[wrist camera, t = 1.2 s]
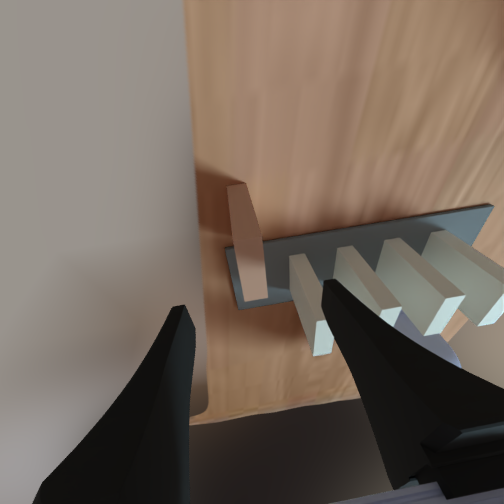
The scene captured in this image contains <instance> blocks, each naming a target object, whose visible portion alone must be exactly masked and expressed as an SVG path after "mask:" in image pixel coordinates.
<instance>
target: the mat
mask: <svg viewBox="0 0 504 504" xmlns="http://www.w3.org/2000/svg"><path fill="white" fill-rule="evenodd" d="M493 208H494V206H493V205H491V204H490V205H484V206H478V207H471V208H465V209H459V210H453V211H447V212H441V213H435V214H429V215H422V216H416V217H410V218H404V219H398V220H392V221H386V222H379V223H373V224H367V225H361V226H355V227H349V228H343V229H336V230H330V231H324V232H318V233H312V234H306V235H300V236H294V237H287V238H281V239H275V240H269V241H263V250H264V261H265V271H266V281H267V291H268V298H264V299H258V300H252V301H247V302H245V301H244V296H243V291H242V286H241V280H240V275H239V270H238V265H237V260H236V254H235V249H234V246H232V247H226V248H225V252H226V256H227V260H228V265H229V269H230V274H231V278H232V283H233V287H234V292H235V296H236V301H237V305H238V310H243V309H248V308H254V307H260V306H266V305H272V304H277V303H283V302H289V301H293V298H292V295H291V292H290V273H289V256H291V255H297V254H303V253H305V255H306V257H307V259H308V261H309V263H310V265H311V267H312V269H313V270H314V272H315V274H316V276H317V278H318V280H319V282H320V284H321V286H322V288H323V282H324V280H329V279H333V274H334V267H335V260H336V253H337V248H340V247H346V246H352V245H353V247H354V248H355V249H356V250H357V251H358V253H359V254H360V255H361V256H362V258H363V259H364V260H365V261H366V262H367V264H368V265H369V266H370V267H371V269H372V270H373V271H374V272H375V271H376V268H377V264H378V261H379V258H380V254H381V251H382V247H383V244H384V240H388V239H394V238H401V239H402V240H403V241H404V242H405V243H406V244H408V245H409V246H410V247H411V248H412V249H413V250H415V251H416V252H417V253H418V254H419V255H420V256H421V255H422V253H423V250H424V248H425V246H426V243H427V241H428V239H429V236H430V234H431V232H436V231H442V230H447V231H448V232H450V233H452V234H453V235H455V236H456V237H458V238H459V239H461V240H462V241H464V242H465V243H467V244H468V245H470V246H472V244H473V242H474V241H475V239H476V237H477V235H478V234H479V232H480V230H481V228H482V227H483V225H484V223H485V222H486V220H487V218H488V216H489V215H490V213H491V211H492V209H493Z"/></svg>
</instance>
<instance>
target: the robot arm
mask: <svg viewBox="0 0 504 504" xmlns="http://www.w3.org/2000/svg"><path fill="white" fill-rule="evenodd" d="M321 308H322V311H323V314H324V316H325V319H326V322H327V324H328V326H329V329H330V331H331V333H332V335H333V337H334V339H335V341H336V343H337V345H338V347H339V349H340V351H341V353H342V355H343V357H344V359H345V361H346V363H347V365H348V367H349V369H350V371H351V373H352V376H353V378H354V381H355V384H356V386H357V389H358V391H359V394H360V396H361V399H362V402H363V404H364V407H365V410H366V413H367V415H368V418H369V421H370V424H371V427H372V429H373V432H374V435H375V438H376V441H377V444H378V447H379V450H380V453H381V456H382V459H383V462H384V466H385V469H386V472H387V475H388V478H389V480H390V483H391V485H392V487H393V489H394V491H388V492H383V493H378V494H374V495H369V496H364V497H359V498H355V499H349V500H345V501H340V502H335V503H331V504H504V389H503V388H501V387H498V386H496V385H494V384H492V383H490V382H488V381H486V380H484V379H482V378H480V377H477V376H475V375H473V374H471V373H469V372H467V371H465V370H464V369H462V368H461V364H460V362H459V359H458V357H457V355H456V354H455V352H454V351H453V349H452V348H451V347H450V345H449V344H448V343H447V342H446V341H445V340H444V339H443V337H442V336H441V335H440V334H439V333H438V334H433V335H427V336H423V335H422V334H421V333H420V331H419V330H418V329H417V328H416V326H415V325H414V324H413V323H412V321H411V320H410V319H409V318H408V317H407V315H406V314H405V313H404V312H403V310H402V309H401V311H400V313H399V315H398V318H397V320H396V322H395V324H394V327H392V326H391V325H390V324H388V323H387V322H386V321H384V320H383V319H382V318H381V317H379V316H378V315H377V314H375V313H374V312H373V311H372V310H371V309H369V308H368V307H367V306H366V305H365V304H363V303H362V302H361V301H360V300H359V299H358V298H356V297H355V296H354V295H353V294H352V293H351V292H350V291H349V290H348V289H346V288H345V287H344V286H343V285H342V284H341V283H340V282H339V281H338V280H337V279H329V280H324V282H323V291H322V300H321ZM195 339H196V334H195V326H194V324H193V322H192V320H191V317H190V315H189V313H188V310H187V308H186V306H185V305H180V306H175V307H172V308H171V310H170V312H169V315H168V316H167V319H166V321H165V323H164V325H163V326H162V328H161V330H160V332H159V334H158V336H157V338H156V339H155V341H154V343H153V345H152V346H151V348H150V350H149V352H148V353H147V355H146V356H145V358H144V360H143V361H142V363H141V365H140V366H139V368H138V369H137V371H136V372H135V374H134V375H133V377H132V378H131V380H130V381H129V383H128V384H127V385H126V387H125V388H124V389H123V391H122V392H121V394H120V395H119V396H118V397H117V399H116V400H115V401H114V403H113V404H112V405H111V406H110V408H109V409H108V410H107V411H106V413H105V414H104V415H103V417H102V418H101V419H100V420H99V421H98V422H97V423H96V425H95V426H94V427H93V428H92V429H91V430H90V432H89V433H88V434H87V435H86V436H85V437H84V439H83V440H82V441H81V442H80V443H79V444H78V445H77V447H76V448H75V449H74V450H73V451H72V452H71V453H70V454H69V455H68V456H67V457H66V458H65V459H64V460H63V461H62V462H61V463H60V465H58V467H57V468H56V469H55V470H54V471H53V472H52V473H51V474H50V475H49V476H48V477H47V478H46V479H45V480H44V481H43V482H42V484H41V486H40V488H39V490H38V492H37V494H36V497H35V499H34V501H33V503H32V504H190V484H189V410H190V409H189V408H190V393H191V384H192V375H193V366H194V358H195V348H196V340H195Z"/></svg>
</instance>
